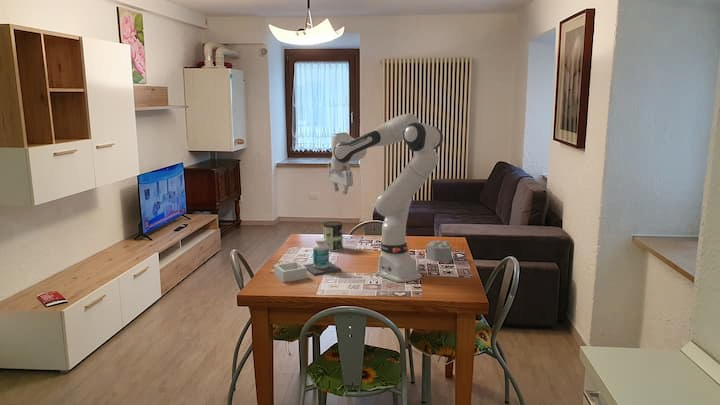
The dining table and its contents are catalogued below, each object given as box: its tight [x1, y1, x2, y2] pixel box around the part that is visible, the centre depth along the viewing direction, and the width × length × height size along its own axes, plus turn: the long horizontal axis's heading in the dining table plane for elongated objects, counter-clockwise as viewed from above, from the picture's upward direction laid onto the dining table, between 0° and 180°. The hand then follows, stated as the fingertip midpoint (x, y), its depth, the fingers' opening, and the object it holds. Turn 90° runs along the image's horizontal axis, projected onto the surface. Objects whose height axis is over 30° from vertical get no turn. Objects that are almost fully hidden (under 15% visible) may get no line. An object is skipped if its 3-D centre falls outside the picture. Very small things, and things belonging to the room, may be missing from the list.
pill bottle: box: [312, 238, 330, 269], centre depth 264 cm, size 8×7×14 cm
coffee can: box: [322, 220, 343, 252], centre depth 298 cm, size 10×10×14 cm
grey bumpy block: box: [426, 239, 453, 263], centre depth 280 cm, size 10×13×9 cm
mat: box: [302, 261, 342, 276], centre depth 266 cm, size 14×14×1 cm
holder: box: [273, 260, 308, 283], centre depth 255 cm, size 11×11×5 cm
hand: (340, 192), depth 280 cm, fingers open, 8 cm apart
